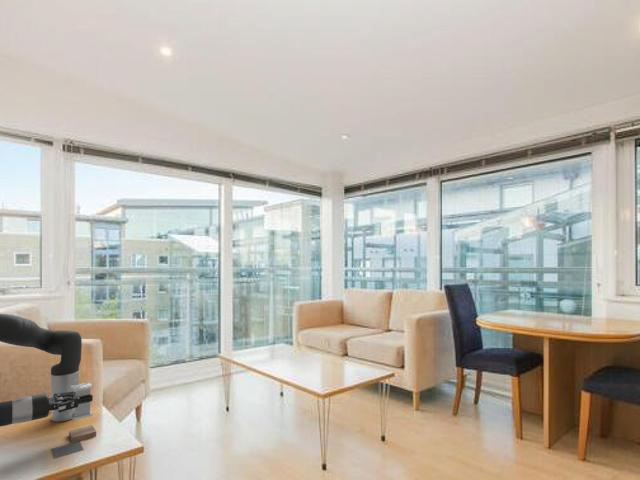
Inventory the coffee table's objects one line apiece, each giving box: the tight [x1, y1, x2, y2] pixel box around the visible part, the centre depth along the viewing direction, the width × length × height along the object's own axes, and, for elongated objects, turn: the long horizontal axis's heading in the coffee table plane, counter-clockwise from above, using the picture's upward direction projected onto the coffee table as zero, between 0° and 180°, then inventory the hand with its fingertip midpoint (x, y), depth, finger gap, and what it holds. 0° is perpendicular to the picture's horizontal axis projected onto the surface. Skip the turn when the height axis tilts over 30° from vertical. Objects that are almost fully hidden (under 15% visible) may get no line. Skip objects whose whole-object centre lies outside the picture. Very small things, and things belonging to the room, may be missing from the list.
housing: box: [71, 382, 94, 421], centre depth 137 cm, size 6×6×10 cm
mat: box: [50, 440, 85, 460], centre depth 127 cm, size 8×8×1 cm
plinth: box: [68, 424, 97, 443], centre depth 137 cm, size 7×7×2 cm
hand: (90, 395), depth 139 cm, fingers closed on housing, 4 cm apart
